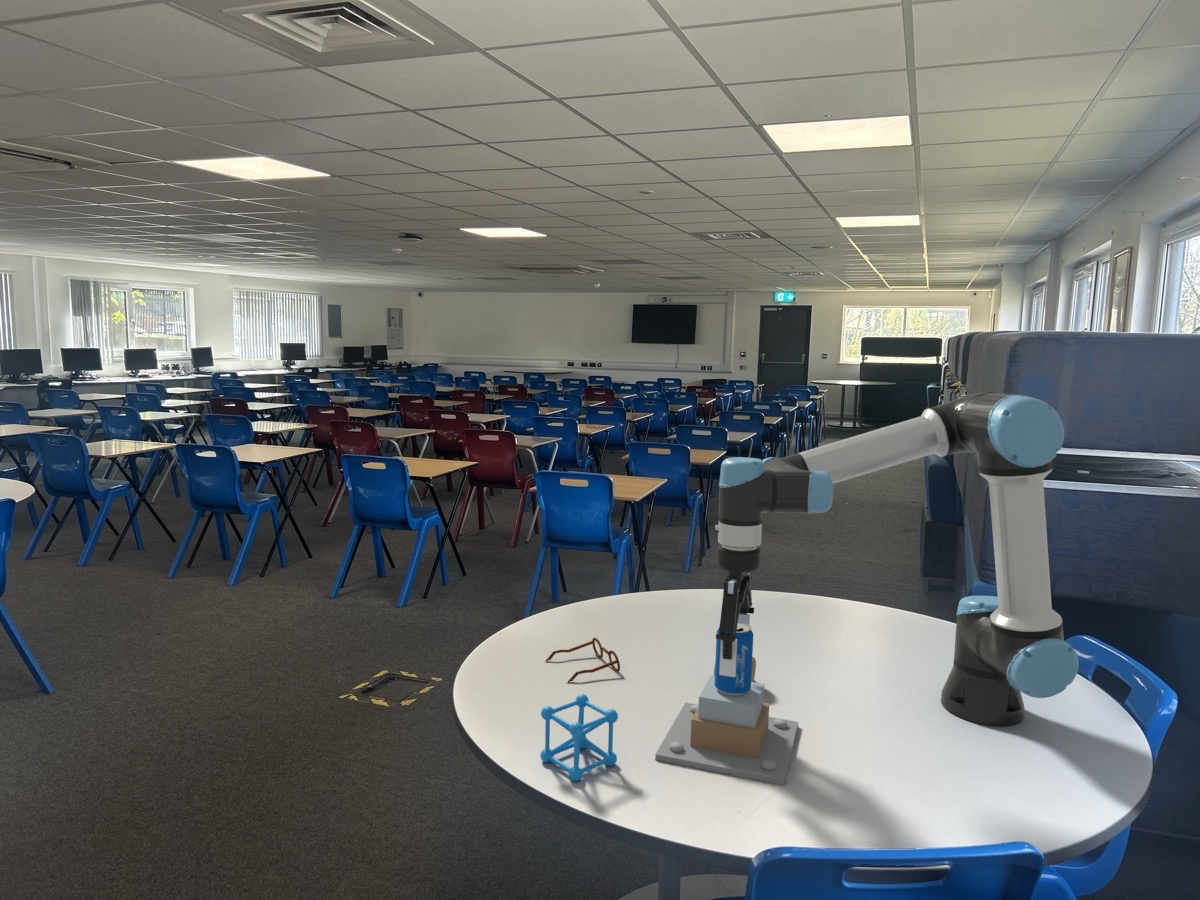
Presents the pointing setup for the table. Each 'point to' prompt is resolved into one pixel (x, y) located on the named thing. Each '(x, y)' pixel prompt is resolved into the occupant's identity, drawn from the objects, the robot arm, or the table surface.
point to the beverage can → (737, 664)
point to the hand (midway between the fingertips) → (734, 661)
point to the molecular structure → (578, 736)
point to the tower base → (729, 761)
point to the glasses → (595, 653)
